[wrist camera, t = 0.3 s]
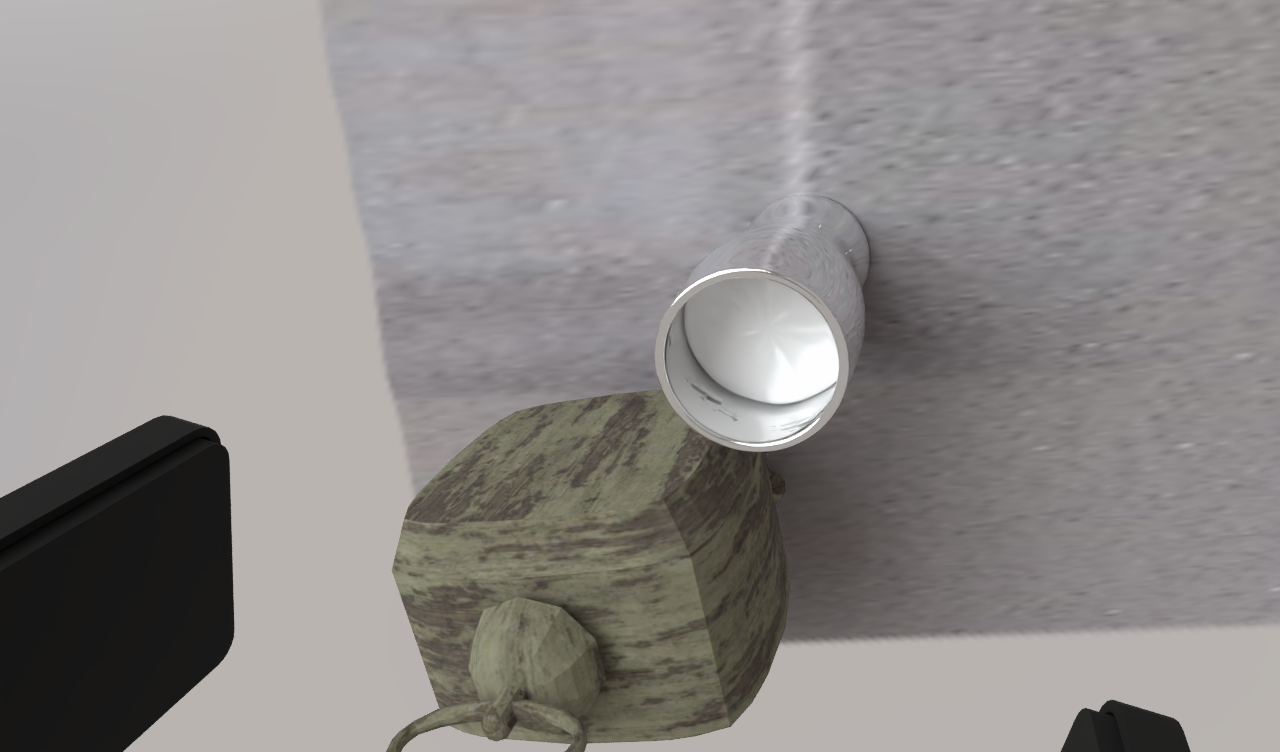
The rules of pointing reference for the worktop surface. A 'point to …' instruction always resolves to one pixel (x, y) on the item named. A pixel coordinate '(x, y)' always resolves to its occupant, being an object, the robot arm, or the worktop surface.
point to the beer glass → (768, 328)
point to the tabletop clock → (594, 577)
